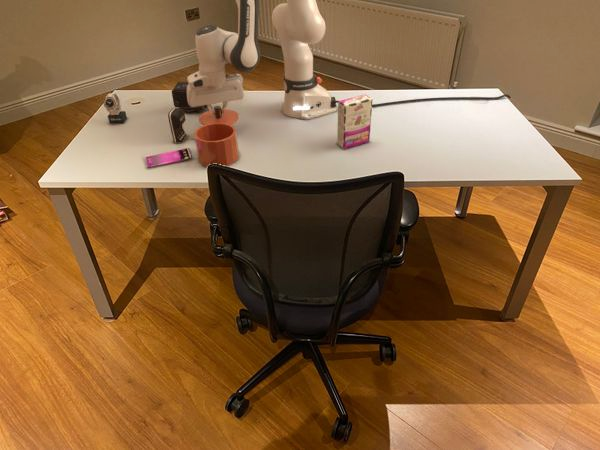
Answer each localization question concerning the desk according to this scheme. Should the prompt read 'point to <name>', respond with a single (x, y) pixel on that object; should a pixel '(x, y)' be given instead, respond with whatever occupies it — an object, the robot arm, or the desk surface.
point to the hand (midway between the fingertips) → (218, 113)
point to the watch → (114, 109)
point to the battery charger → (177, 124)
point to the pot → (216, 144)
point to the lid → (219, 116)
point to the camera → (183, 98)
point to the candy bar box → (354, 121)
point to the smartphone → (168, 157)
